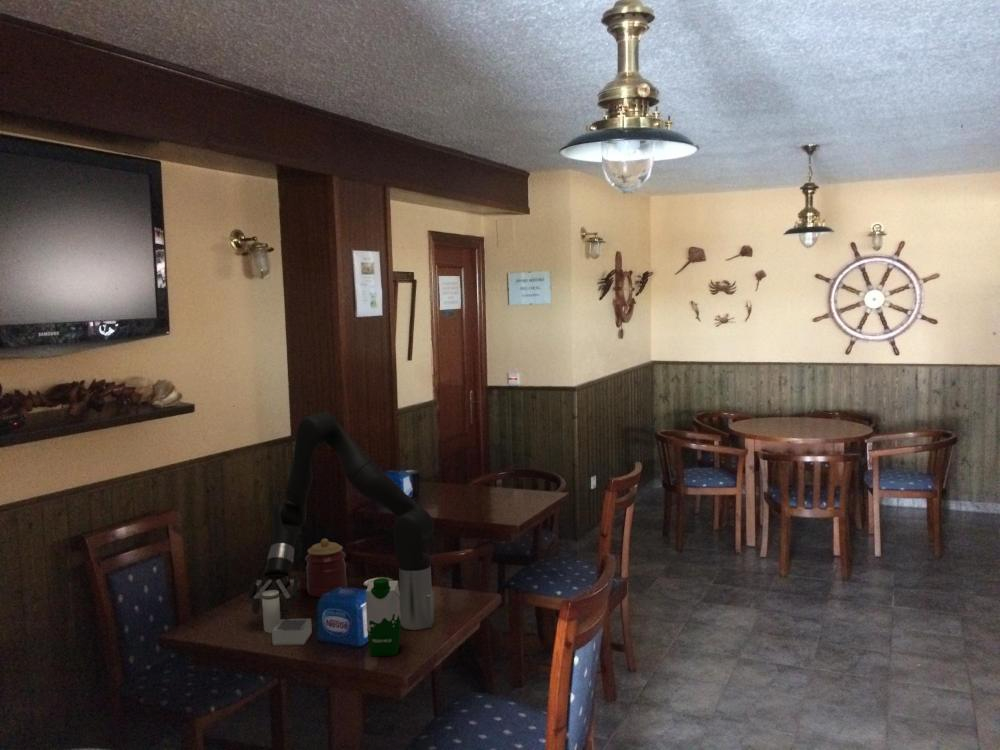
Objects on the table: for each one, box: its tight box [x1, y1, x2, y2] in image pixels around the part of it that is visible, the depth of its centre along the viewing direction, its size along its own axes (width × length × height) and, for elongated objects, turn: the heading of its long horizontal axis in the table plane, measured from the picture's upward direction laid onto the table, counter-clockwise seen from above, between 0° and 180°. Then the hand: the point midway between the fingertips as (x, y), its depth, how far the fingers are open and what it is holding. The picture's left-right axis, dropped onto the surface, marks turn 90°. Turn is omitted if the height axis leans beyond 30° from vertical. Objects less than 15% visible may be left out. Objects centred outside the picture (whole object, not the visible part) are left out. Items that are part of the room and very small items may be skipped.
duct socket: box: [271, 618, 313, 646], centre depth 233 cm, size 9×9×4 cm
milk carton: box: [365, 577, 402, 657], centre depth 222 cm, size 9×9×20 cm
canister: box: [304, 538, 348, 598], centre depth 272 cm, size 13×13×18 cm
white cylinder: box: [261, 590, 282, 634], centre depth 240 cm, size 5×5×11 cm
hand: (270, 613), depth 239 cm, fingers open, 8 cm apart
